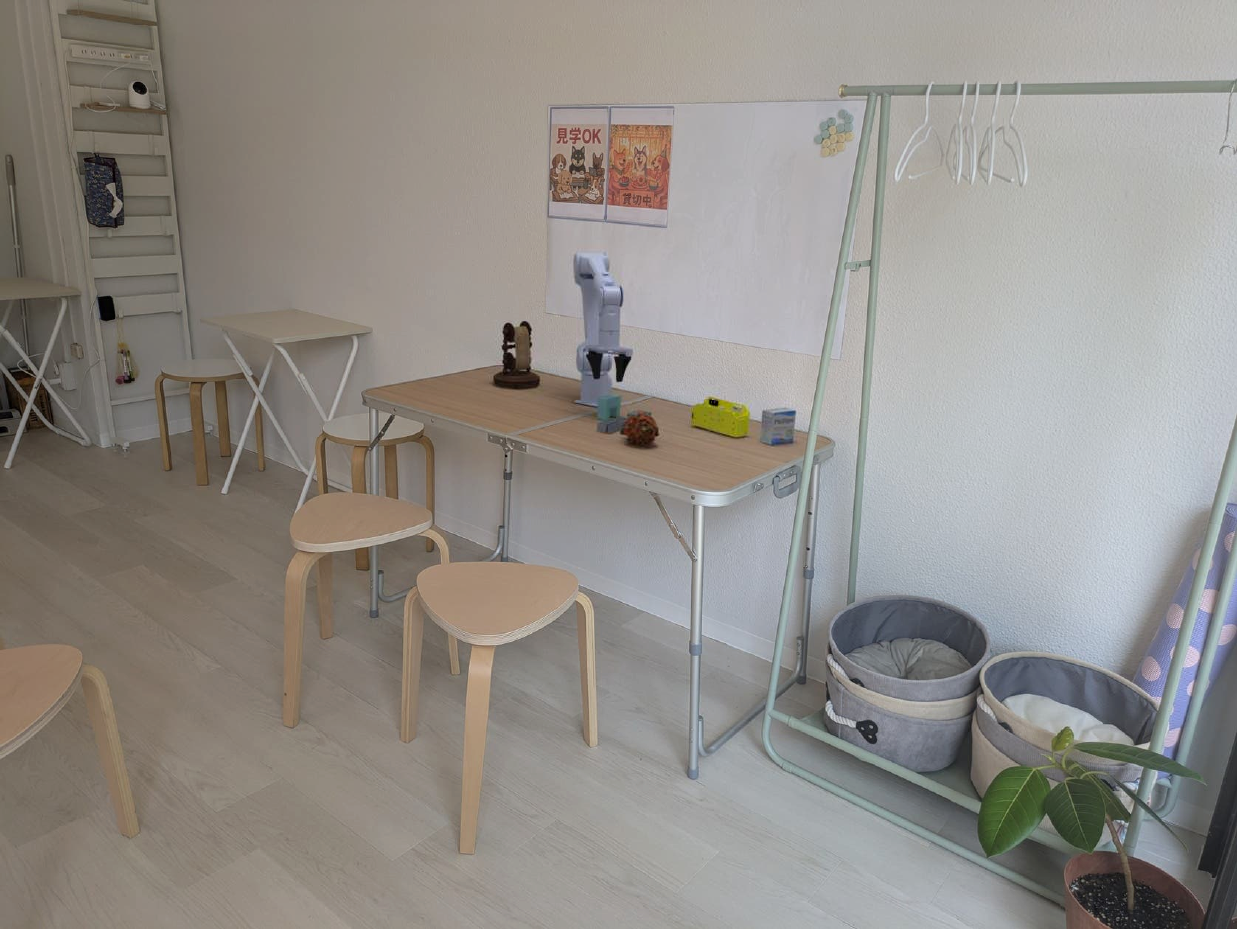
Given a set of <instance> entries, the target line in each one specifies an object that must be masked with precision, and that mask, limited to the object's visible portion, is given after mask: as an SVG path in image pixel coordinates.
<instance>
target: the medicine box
mask: <svg viewBox="0 0 1237 929" xmlns="http://www.w3.org/2000/svg"><path fill="white" fill-rule="evenodd" d="M796 414H797V411H796V410H795V409H792V408H790V407H778V408H769V409H762V413H761V424H760V432H759V433H760V434H759V436H760V437H759V441H760V442H762V443H764V444H766V445H769V446H776V445H775V444H777V445H781V444H789V442H790V443H793V442H794V434H795V426H796V425H795V424H796Z"/></svg>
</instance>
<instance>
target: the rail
mask: <svg viewBox="0 0 1237 929" xmlns="http://www.w3.org/2000/svg"><path fill="white" fill-rule="evenodd" d="M638 413H644V414H648V415H649V416H650V417H652V411H646V410H643V409H636V410H634V411H631V412H628V413H626V416H624V415H620V416H618V417H616V419H612V418H610V419H608V420H601V421H599V422H597V423H596V431H597V432H599V433H603V432H604V433H603V434H608V435H612V434H614V433H616V432H620V429H623V428H625V425H624V426H622V425H623V424H625V422H626V420H627V419H628V418H629V417H635V416H636V415H637V414H638Z"/></svg>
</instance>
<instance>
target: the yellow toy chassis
mask: <svg viewBox="0 0 1237 929" xmlns="http://www.w3.org/2000/svg"><path fill="white" fill-rule="evenodd" d="M750 415H751V412H750V410H749V408H747V407H746V405H744V404H740V403H737V402H733V401H728V400H725V399H722V398H717V397H713V396H708V397H707V398H705V399H704V400H703V403H700V402H698V403H696V404H694V405H692V406H691V416H690V425H692V426H696V427H699V428H701V429H704V430H708V431H713V432H716V433H717V434H718V433H720V434H724V435H727V436H728V435H729V437H731V436H732V438H740V437H744V436H745V435H749V426H750V418H751V417H750Z"/></svg>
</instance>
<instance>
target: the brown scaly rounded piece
mask: <svg viewBox="0 0 1237 929" xmlns="http://www.w3.org/2000/svg"><path fill="white" fill-rule="evenodd" d="M624 425H625V428H623V429H620V431H619V434H620V436H621V435H623V436H626V437H627V441H628V442H629V443H630V444H634V445H635V444H637V445H640V446H647V445H648V444H650V443H651V444H652V443H654V441H655V439H656V438H657V437H658V436H660V432H659V431H660V430H659V427H658V425H657V422H656V420H655V419H654V418H653V417H652V416H651V417H650V416H649V415H648V414H644V413H638V414H637V415H636V416H635V417H629V418H628V419H627V420H626V422H625V424H623V425H622V426H624Z"/></svg>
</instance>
